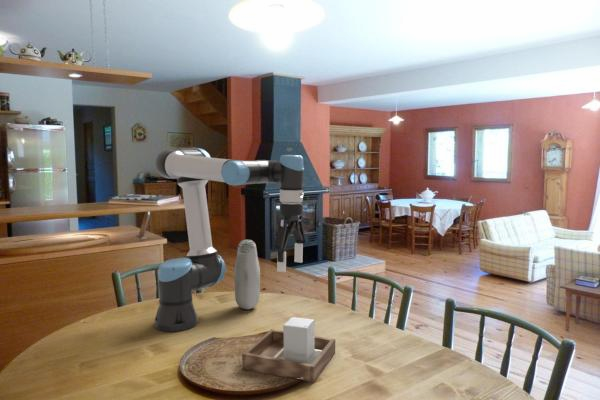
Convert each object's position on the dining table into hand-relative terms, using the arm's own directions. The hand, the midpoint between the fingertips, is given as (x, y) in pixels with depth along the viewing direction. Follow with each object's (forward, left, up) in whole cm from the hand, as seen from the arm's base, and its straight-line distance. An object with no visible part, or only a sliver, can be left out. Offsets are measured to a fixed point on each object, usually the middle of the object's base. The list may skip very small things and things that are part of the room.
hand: (290, 266), depth 150 cm
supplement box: (+10, -17, -24) cm, 31 cm away
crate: (+6, -14, -25) cm, 29 cm away
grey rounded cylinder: (-28, +23, -25) cm, 44 cm away
